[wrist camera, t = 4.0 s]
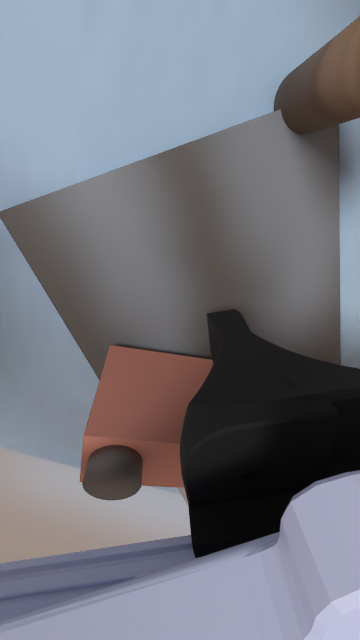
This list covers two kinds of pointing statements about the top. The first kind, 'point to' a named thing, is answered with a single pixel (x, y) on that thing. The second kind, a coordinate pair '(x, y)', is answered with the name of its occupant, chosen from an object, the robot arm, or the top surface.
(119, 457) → the rail
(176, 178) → the peg mounting fixture
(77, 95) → the top surface
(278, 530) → the robot arm
